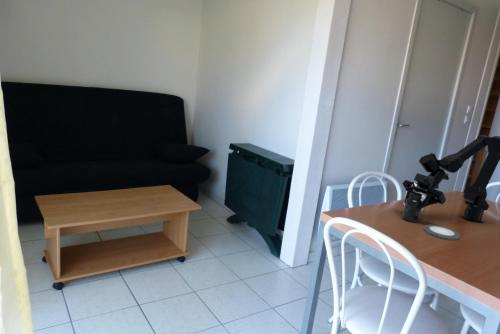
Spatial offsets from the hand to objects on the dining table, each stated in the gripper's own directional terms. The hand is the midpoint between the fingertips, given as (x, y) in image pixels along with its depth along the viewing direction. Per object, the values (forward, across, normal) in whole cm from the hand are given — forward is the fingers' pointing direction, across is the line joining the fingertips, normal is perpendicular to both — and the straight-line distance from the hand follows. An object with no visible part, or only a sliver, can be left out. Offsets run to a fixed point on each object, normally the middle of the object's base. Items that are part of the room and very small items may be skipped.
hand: (411, 205), depth 157 cm
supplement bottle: (+4, 0, +6) cm, 7 cm away
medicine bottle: (-8, -12, +17) cm, 22 cm away
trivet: (+4, +15, +6) cm, 16 cm away
